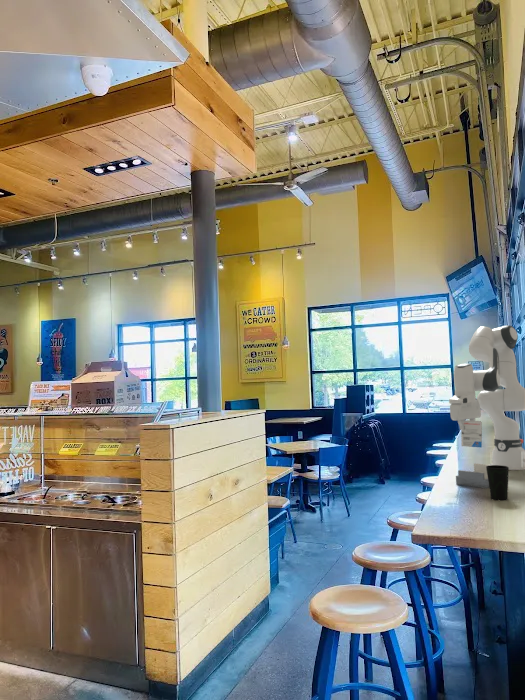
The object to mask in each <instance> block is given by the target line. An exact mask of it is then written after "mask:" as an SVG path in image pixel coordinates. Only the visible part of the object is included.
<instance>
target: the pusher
mask: <svg viewBox="0 0 525 700" xmlns="http://www.w3.org/2000/svg"><path fill="white" fill-rule="evenodd" d="M489 465H490V464H484V463H476V462H475V463H473V471H474V472H479V473H484V478H485V479H487V478H488V475H487V469H486V466H489Z"/></svg>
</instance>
